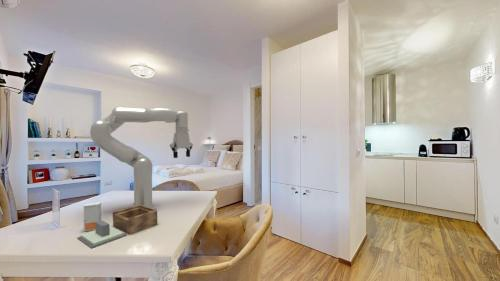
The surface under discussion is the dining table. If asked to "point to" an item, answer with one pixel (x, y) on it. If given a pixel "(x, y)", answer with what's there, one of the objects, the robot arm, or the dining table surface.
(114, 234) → the cover plate
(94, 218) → the skincare box
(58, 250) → the dining table surface
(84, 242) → the rubber mat
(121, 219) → the walnut box
